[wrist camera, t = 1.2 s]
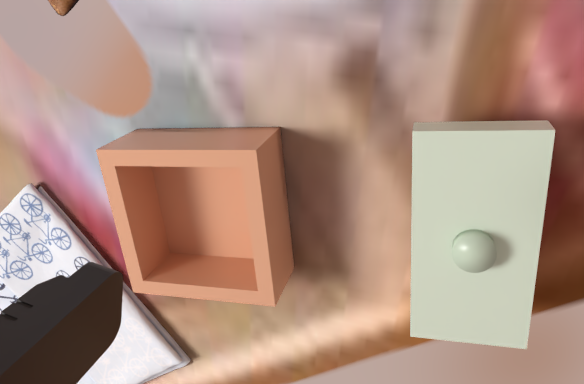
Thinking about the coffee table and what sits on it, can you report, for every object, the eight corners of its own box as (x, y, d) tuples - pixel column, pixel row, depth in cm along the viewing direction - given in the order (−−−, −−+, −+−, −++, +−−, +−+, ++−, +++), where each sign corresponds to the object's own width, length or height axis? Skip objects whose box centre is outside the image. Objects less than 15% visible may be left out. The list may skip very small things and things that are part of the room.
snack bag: (198, 355, 40) (186, 374, 38) (64, 416, 49) (49, 434, 47) (44, 173, 36) (22, 183, 34) (-70, 275, 45) (-92, 288, 43)
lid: (547, 120, 22) (559, 135, 20) (521, 329, 27) (529, 359, 24) (413, 122, 24) (411, 136, 21) (411, 318, 28) (409, 346, 26)
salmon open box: (280, 127, 29) (256, 150, 25) (294, 267, 33) (275, 306, 29) (137, 128, 32) (96, 149, 28) (166, 258, 36) (133, 292, 32)
